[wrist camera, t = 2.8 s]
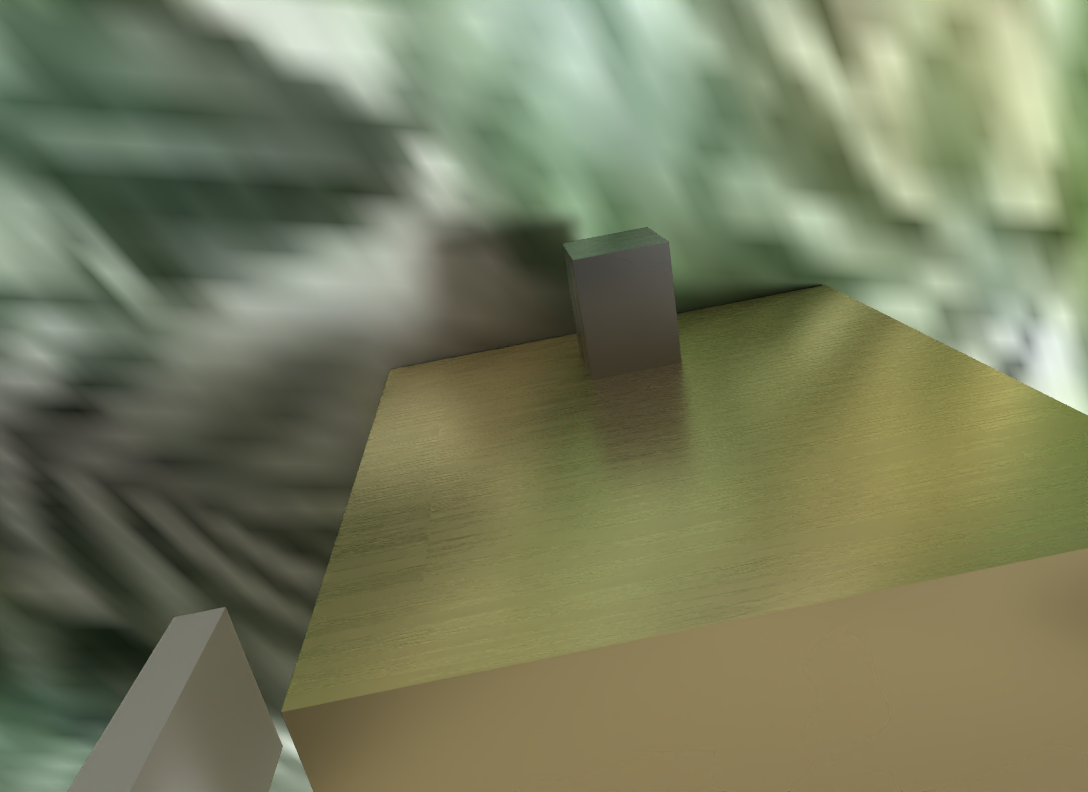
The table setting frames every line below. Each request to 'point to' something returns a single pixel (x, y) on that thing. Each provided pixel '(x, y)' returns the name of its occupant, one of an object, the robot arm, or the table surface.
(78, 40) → the table surface
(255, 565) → the table surface
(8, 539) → the table surface
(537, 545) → the block with peg
